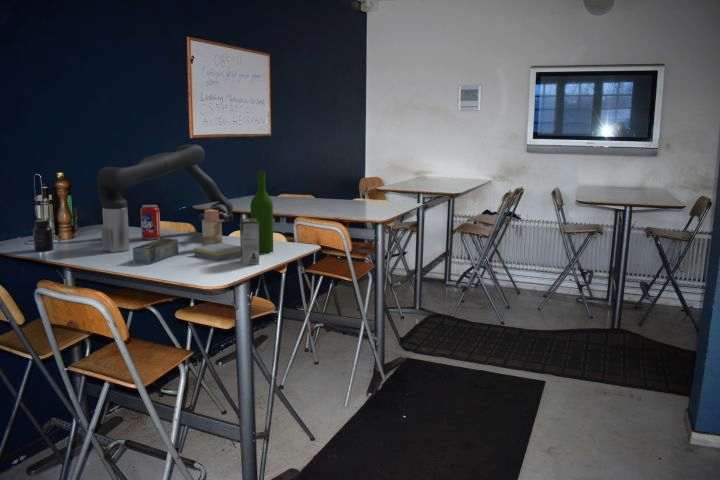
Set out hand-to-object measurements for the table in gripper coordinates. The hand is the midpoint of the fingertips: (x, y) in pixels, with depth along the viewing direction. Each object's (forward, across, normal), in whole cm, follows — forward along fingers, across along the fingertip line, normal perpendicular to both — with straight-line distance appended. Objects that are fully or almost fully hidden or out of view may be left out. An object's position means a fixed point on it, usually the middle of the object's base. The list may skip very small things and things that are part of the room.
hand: (215, 219), depth 252 cm
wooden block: (+12, 0, +10) cm, 15 cm away
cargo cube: (+11, 0, -2) cm, 12 cm away
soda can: (-12, -29, +10) cm, 33 cm away
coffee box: (+38, +16, +10) cm, 42 cm away
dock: (+24, +4, +10) cm, 27 cm away
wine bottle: (+19, +20, +10) cm, 30 cm away
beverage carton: (+29, -19, +10) cm, 36 cm away
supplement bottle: (+11, -66, +10) cm, 68 cm away
